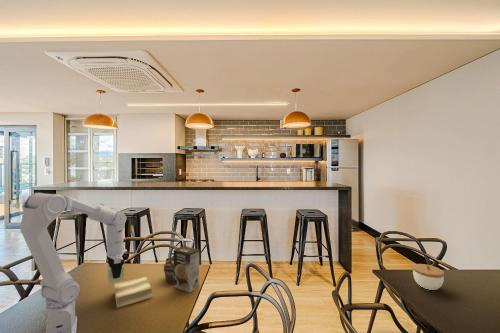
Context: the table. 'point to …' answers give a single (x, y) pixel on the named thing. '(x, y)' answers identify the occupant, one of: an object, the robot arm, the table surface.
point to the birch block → (132, 291)
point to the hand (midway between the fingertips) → (115, 275)
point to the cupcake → (169, 269)
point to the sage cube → (110, 276)
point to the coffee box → (186, 268)
